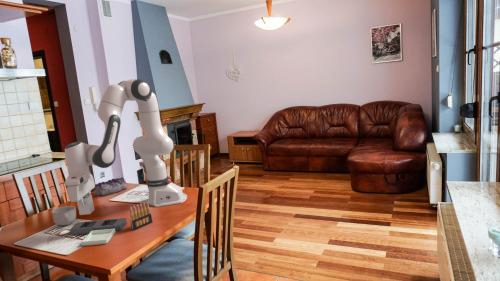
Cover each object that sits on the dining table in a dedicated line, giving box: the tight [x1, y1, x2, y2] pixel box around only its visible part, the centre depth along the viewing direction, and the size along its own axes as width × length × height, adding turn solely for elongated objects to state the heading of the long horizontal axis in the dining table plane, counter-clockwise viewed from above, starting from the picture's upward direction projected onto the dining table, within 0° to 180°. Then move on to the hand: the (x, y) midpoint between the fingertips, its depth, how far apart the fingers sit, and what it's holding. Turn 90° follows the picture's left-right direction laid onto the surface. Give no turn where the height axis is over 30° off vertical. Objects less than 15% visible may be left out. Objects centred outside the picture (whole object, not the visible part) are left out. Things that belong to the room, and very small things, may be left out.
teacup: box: [51, 205, 77, 227], centre depth 173 cm, size 14×11×8 cm
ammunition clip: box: [129, 200, 153, 231], centre depth 164 cm, size 11×2×12 cm, turn 139°
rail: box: [69, 217, 128, 236], centre depth 165 cm, size 24×8×3 cm, turn 93°
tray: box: [80, 229, 116, 247], centre depth 154 cm, size 11×11×2 cm
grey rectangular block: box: [76, 194, 95, 216], centre depth 163 cm, size 5×5×9 cm
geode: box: [93, 176, 128, 197], centre depth 220 cm, size 20×12×10 cm, turn 135°
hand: (85, 203), depth 162 cm, fingers closed on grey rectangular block, 5 cm apart
